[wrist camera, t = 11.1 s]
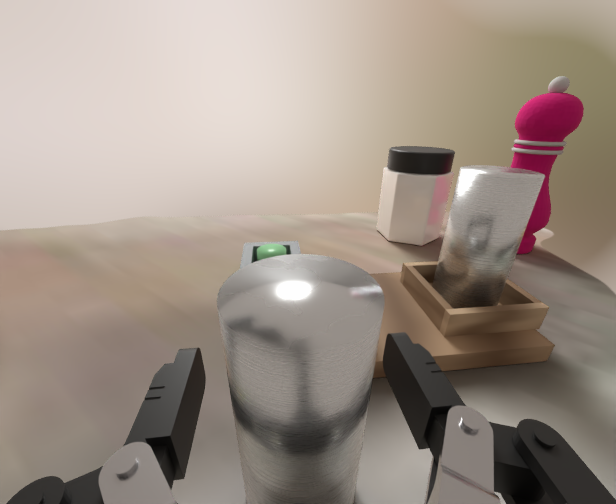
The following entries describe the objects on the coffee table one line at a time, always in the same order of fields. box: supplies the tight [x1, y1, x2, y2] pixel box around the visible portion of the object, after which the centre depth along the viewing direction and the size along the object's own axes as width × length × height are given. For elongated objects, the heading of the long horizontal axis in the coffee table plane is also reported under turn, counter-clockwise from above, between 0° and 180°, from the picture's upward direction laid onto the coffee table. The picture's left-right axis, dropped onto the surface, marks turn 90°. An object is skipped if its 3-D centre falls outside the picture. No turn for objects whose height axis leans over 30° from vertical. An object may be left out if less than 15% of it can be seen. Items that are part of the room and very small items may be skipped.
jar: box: [376, 146, 455, 246], centre depth 40 cm, size 9×8×12 cm
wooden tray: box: [370, 261, 555, 378], centre depth 24 cm, size 21×11×4 cm, turn 97°
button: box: [257, 244, 286, 261], centre depth 30 cm, size 3×3×3 cm
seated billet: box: [432, 165, 545, 309], centre depth 22 cm, size 5×5×11 cm
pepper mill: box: [511, 76, 584, 254], centre depth 35 cm, size 7×7×20 cm
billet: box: [217, 254, 385, 504], centre depth 11 cm, size 5×5×11 cm
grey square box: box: [240, 241, 301, 269], centre depth 30 cm, size 6×6×3 cm
